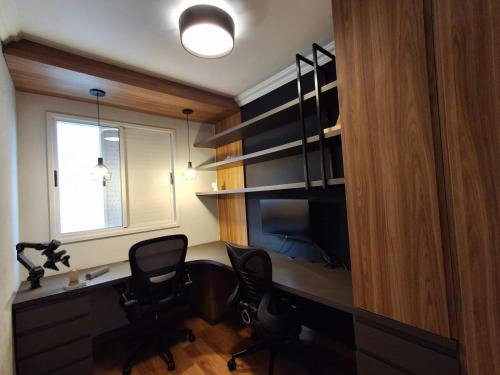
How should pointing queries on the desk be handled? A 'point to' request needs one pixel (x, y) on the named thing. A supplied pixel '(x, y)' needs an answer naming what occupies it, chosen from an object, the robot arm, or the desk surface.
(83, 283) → the housing
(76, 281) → the cover
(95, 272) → the tube
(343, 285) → the desk surface
